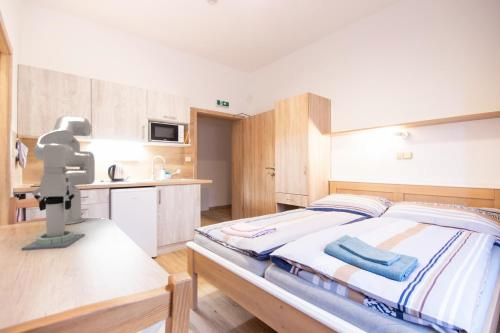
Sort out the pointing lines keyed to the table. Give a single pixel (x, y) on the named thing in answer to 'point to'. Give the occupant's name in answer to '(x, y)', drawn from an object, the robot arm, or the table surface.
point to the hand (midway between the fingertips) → (55, 209)
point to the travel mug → (55, 217)
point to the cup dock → (62, 245)
